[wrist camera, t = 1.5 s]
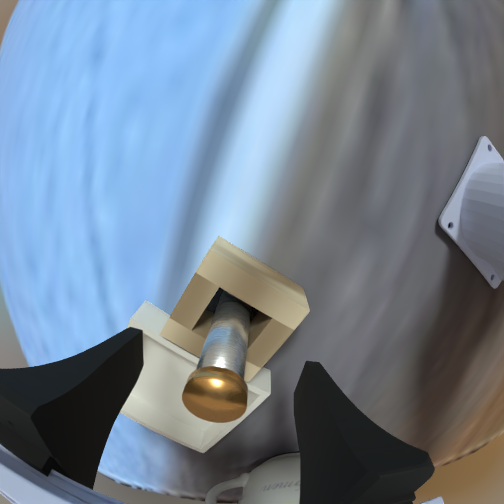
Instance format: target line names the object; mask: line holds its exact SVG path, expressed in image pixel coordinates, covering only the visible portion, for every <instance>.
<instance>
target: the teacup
mask: <svg viewBox="0 0 504 504" xmlns="http://www.w3.org/2000/svg"><path fill="white" fill-rule="evenodd" d="M236 487H243V493H242V499H240V500H239V502H238V504H299V500H300V453H289V454H283V455H279V456H276V457H273V458H271V459H269V460H267V461H265V462H264V463H263V464H261V465H259V466H258V467H256V468H255V469H253V470H252V471H251V472H250V473H243V474H241V475H240V476H239V477H238V478H235V479H232V480H228V481H225V482H222V483H220V484H217V485H216V486H214V487H213V488H211V489H210V490H209V492H208V493H207V495H206V499H205V503H206V504H217V503H216V498H217V496H218V495H219V494H220V493H222V492H223V491H225V490H228V489H232V488H236Z"/></svg>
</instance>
